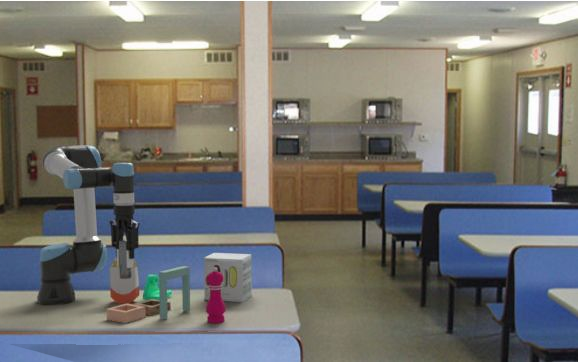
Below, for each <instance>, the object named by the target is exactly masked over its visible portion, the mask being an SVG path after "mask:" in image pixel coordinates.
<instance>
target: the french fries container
mask: <svg viewBox="0 0 578 362" xmlns="http://www.w3.org/2000/svg"><path fill="white" fill-rule="evenodd" d="M133 261H134V267H131V269H132V278H129V279H120V275H119V267H117V258H114V260H113V264H111V265H110V266H109V283H110V285H109V289H110V290H109V291H110V294H109V295H110V298H111V299H112V300H113V301H114V302H115V303H116V304H126V303H127V304H131V303H133V301H135V300H136V299H137V298H138V297H139V296H140V279H139V271H138V264H136V263H137V261H136V260H133Z"/></svg>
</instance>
